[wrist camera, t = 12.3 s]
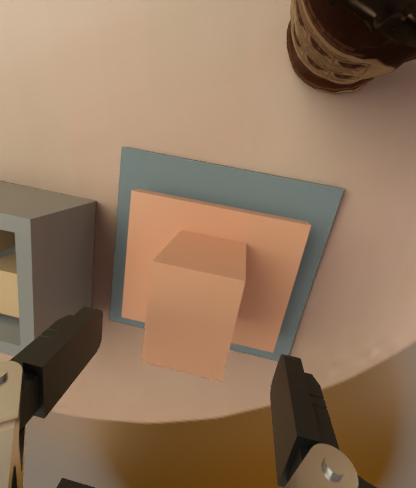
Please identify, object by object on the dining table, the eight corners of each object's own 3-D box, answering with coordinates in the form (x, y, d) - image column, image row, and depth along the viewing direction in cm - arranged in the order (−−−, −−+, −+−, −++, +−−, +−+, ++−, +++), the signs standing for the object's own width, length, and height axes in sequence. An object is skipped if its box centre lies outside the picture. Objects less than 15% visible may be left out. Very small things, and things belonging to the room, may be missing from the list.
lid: (144, 186, 21) (78, 204, 13) (304, 217, 20) (341, 258, 12) (133, 301, 24) (75, 374, 16) (270, 333, 23) (282, 426, 15)
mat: (124, 146, 20) (121, 146, 20) (342, 188, 19) (344, 189, 19) (111, 317, 25) (109, 320, 25) (285, 359, 24) (285, 363, 23)
